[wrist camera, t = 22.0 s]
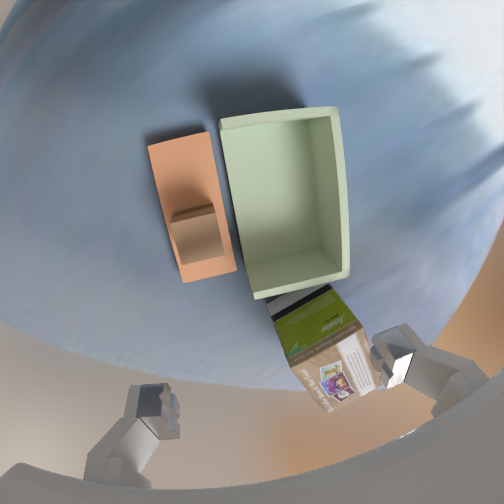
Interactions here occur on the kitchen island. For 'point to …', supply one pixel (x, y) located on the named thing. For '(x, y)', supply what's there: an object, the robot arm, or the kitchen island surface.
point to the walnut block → (197, 234)
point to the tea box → (324, 345)
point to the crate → (289, 197)
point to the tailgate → (191, 195)
